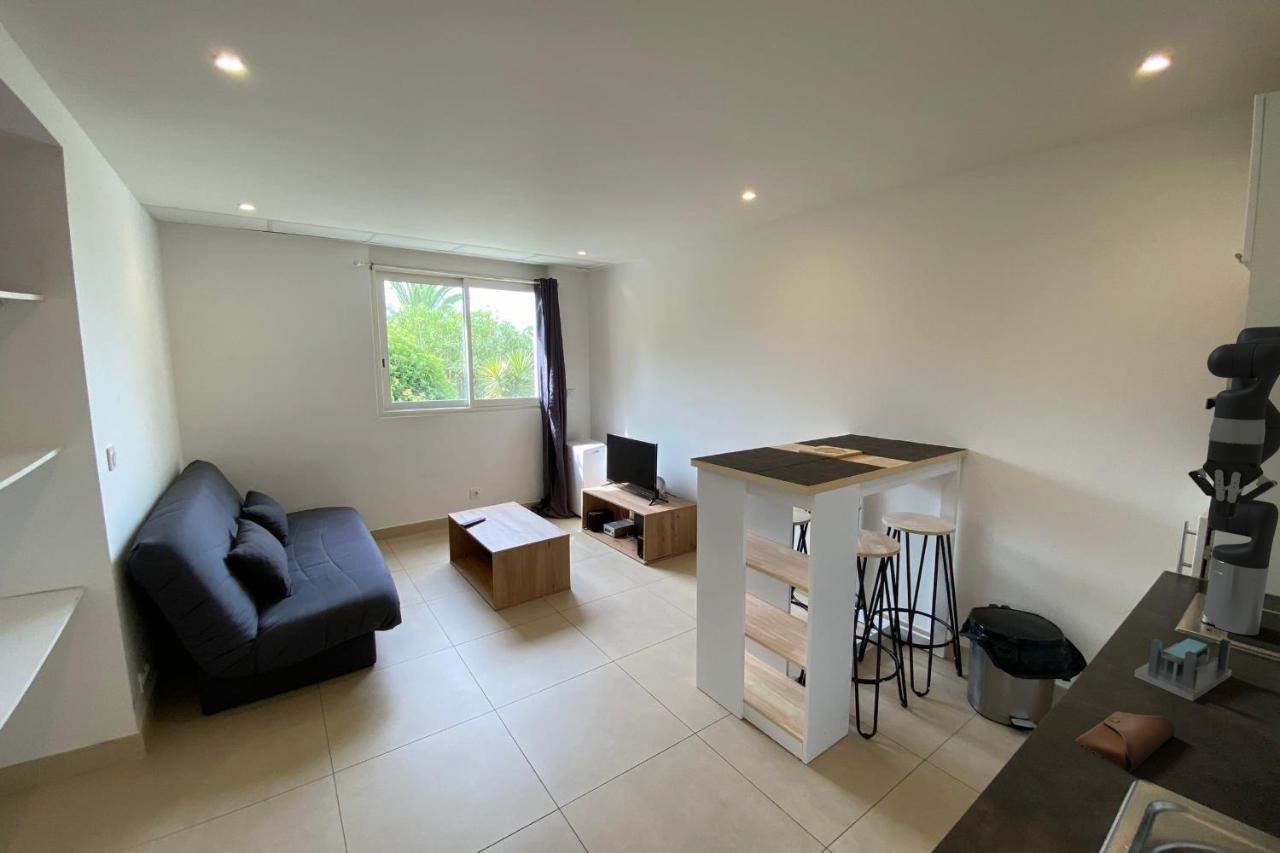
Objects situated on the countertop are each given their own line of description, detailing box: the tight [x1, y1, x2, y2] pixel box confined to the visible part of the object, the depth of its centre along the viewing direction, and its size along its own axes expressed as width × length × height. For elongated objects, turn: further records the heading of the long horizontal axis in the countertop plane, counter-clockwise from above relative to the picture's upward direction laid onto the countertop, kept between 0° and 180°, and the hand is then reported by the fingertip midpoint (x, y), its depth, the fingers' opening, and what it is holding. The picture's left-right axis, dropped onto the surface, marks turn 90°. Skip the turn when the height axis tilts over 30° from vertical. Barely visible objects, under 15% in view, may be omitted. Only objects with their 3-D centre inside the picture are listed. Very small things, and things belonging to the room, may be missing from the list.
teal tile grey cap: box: [1161, 631, 1217, 665], centre depth 109 cm, size 14×4×2 cm, turn 115°
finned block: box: [1134, 638, 1232, 702], centre depth 109 cm, size 18×9×8 cm, turn 115°
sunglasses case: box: [1074, 710, 1176, 774], centre depth 92 cm, size 18×7×7 cm
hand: (1225, 517), depth 110 cm, fingers closed
